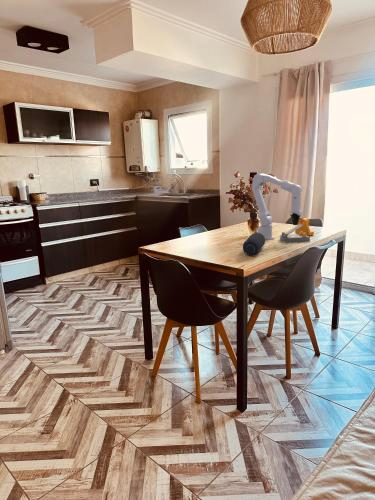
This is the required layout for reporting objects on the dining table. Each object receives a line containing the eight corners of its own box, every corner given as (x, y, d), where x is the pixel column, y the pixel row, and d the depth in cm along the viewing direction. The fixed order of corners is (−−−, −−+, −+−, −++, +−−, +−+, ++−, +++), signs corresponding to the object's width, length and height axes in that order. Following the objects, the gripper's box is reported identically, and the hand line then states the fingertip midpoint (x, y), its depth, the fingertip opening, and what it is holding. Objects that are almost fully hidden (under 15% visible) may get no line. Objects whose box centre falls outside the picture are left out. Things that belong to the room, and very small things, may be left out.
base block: (286, 242, 222) (286, 234, 220) (280, 239, 231) (280, 231, 230) (309, 241, 223) (310, 233, 222) (302, 238, 233) (303, 230, 232)
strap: (285, 237, 224) (284, 235, 224) (283, 236, 227) (282, 234, 227) (302, 225, 224) (301, 224, 224) (300, 225, 227) (299, 223, 227)
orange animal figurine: (314, 235, 241) (315, 218, 239) (308, 236, 237) (309, 219, 234) (300, 233, 250) (301, 216, 247) (295, 234, 245) (295, 218, 242)
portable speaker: (250, 246, 216) (250, 231, 214) (266, 247, 213) (266, 231, 210) (241, 257, 194) (241, 239, 191) (259, 258, 190) (259, 240, 188)
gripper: (306, 205, 215) (306, 226, 218) (297, 202, 229) (296, 222, 232) (296, 205, 214) (295, 227, 217) (286, 203, 228) (286, 223, 231)
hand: (295, 225), depth 225 cm, fingers closed
